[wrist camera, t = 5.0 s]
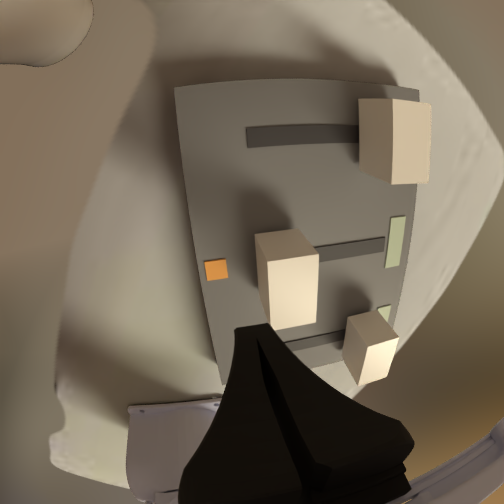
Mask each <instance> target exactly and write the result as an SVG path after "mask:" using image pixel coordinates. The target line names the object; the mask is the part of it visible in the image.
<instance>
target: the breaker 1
mask: <svg viewBox="0 0 504 504" xmlns="http://www.w3.org/2000/svg"><path fill="white" fill-rule="evenodd" d="M358 102H359V170H360V171H362V172H364V173H367V174H369V175H371V176H373V177H376V178H378V179H380V180H382V181H385V182H387V183H389V184H391V185H394V184H416V183H428V180H429V167H430V148H431V104H427V103H421V102H414V101H407V100H399V99H375V98H372V99H358Z"/></svg>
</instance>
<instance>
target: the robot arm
mask: <svg viewBox="0 0 504 504" xmlns="http://www.w3.org/2000/svg"><path fill="white" fill-rule="evenodd" d="M234 338H235V340H234V352H233V358H232V364H231V369H230V373H229V377H228V380H227V384H226V387H225V391H224V394H223V396H222V398H217V399H209V400H201V401H191V402H181V403H169V404H155V405H136V406H128V409H127V411H128V413H129V414H130V419H129V429H128V440H127V453H126V474H127V480H128V484H129V487H130V490H131V492H132V493H133V495H134V496H135V498H136V499H138V500H139V501H142V502H145V504H153V503H155V504H402V503H404V502H406V501H408V500H410V499H412V500H410V501H408V502H406V503H405V504H480V503H481V502H482V501H484V500H485V499H486V498H487V497H488V496H490V495H491V494H492V493H493V492H494V491H496V490H497V489H498V488H499V487H500V486H501V485H502V484H503V483H504V418H502V419H501V420H500V421H499V422H498V423H497V424H496V425H495V426H494V427H493V428H492V429H491V431H490V433H489V434H487V435H486V436H484V437H483V438H482V439H480V440H479V441H477V442H476V443H474V444H473V445H471V446H470V447H468V448H467V449H465V450H464V451H462V452H461V453H459V454H458V455H456V456H454V457H453V458H451V459H449V460H448V461H446V462H444V463H443V464H441V465H439V466H437V467H436V468H434V469H432V470H430V471H428V472H427V473H425V474H423V475H421V476H419V477H417V478H415V479H413V480H411V481H409V482H408V480H407V478H406V476H405V474H404V473H405V472H406V468H405V466H404V464H403V461H404V460H405V459H406V458H407V456H408V455H409V454H410V452H411V451H412V449H413V447H414V440H413V439H412V437H411V435H410V433H409V432H408V431H407V429H406V428H405V427H404V426H403V424H402V423H401V422H400V421H399V420H396V419H393V418H391V417H388V416H385V415H383V414H380V413H377V412H375V411H373V410H371V409H369V408H367V407H365V406H363V405H361V404H359V403H357V402H356V401H354V400H352V399H350V398H349V397H347V396H345V395H344V394H342V393H340V392H339V391H337V390H336V389H334V388H333V387H332V386H330V385H329V384H327V383H326V382H325V381H324V380H322V379H321V378H320V377H318V376H317V375H316V374H315V373H314V372H313V371H311V370H310V369H309V368H308V367H307V366H306V365H305V364H304V363H303V362H302V361H301V360H300V359H299V358H298V357H297V356H296V355H295V354H294V353H293V352H292V351H291V350H290V349H289V348H288V347H287V346H286V344H285V343H284V342H283V341H282V340H281V338H280V337H279V336H278V335H277V333H276V332H275V331H274V329H273V328H272V326H271V325H270V324H269V323H263V324H257V325H251V326H244V327H237V328H236V329H235V330H234Z"/></svg>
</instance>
